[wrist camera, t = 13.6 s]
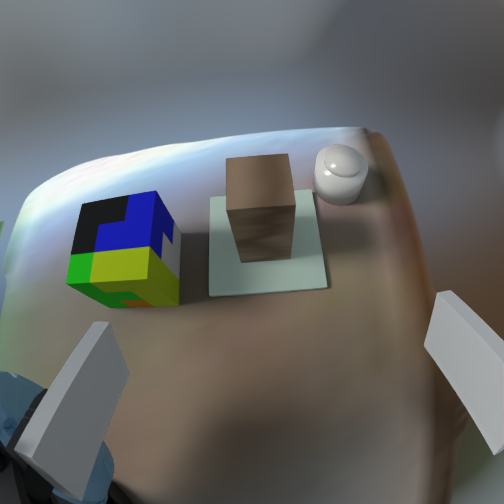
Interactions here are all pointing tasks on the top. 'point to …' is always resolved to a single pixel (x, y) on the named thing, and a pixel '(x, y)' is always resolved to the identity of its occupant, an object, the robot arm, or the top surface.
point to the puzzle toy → (126, 252)
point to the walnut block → (261, 206)
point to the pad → (266, 272)
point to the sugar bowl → (339, 174)
